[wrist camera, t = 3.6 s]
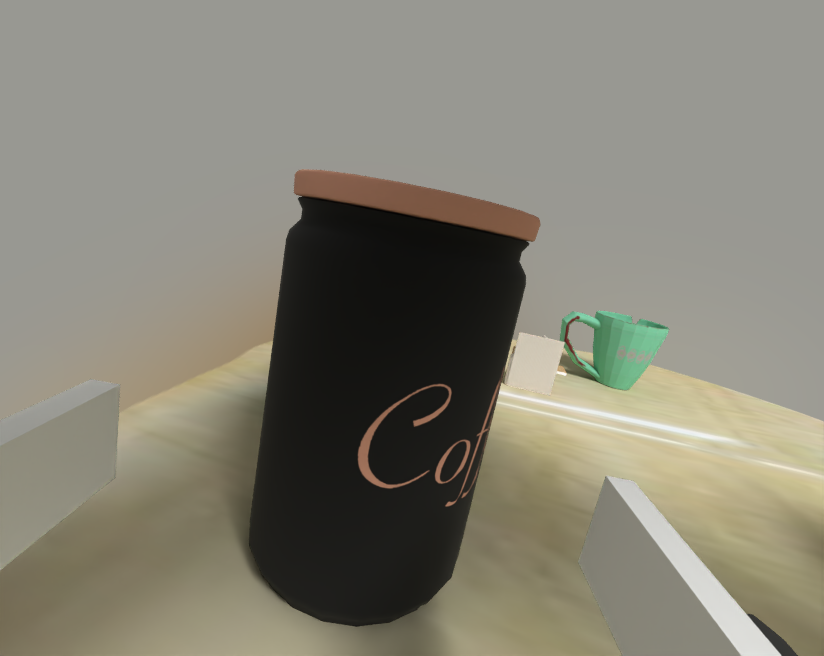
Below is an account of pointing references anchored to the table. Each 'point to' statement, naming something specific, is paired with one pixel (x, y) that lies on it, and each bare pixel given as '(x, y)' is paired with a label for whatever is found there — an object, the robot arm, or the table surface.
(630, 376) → the mug
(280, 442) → the coffee jar
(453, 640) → the table surface
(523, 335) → the architectural model
